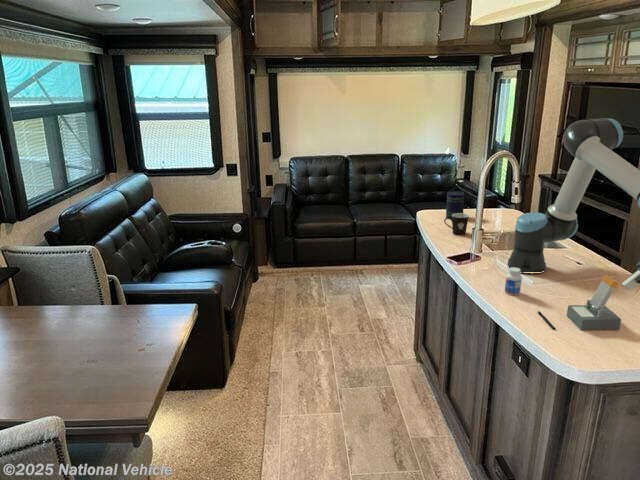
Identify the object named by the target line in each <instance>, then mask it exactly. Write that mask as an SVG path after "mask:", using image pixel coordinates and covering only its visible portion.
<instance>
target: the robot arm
mask: <svg viewBox="0 0 640 480" xmlns="http://www.w3.org/2000/svg"><path fill="white" fill-rule="evenodd" d="M623 138H624V131H623V128H622V125H621V123H620V122H619V121H617V120H616V119H613V118H605V117H601V118H594V119H593V118H592V119H581V120H576V121H574V122H573V123H571V124H569V126H568V127H567V128H566V129H565V131H564V133H563V136H562V141H563V145H564V147H565V150H567V152H568V153H569V154H571V155H572V156H573V157H574V159H573V160H572V164H571V165H570V168H569V170H568V172H567V174H566V177H565V179H564V180H563V181H564V182H563V183H562V185H561V187H560V189H559V190H560V191H559V192H558V195H557V196H556V199H555V201H554V203H553V204H550V205H549V206H548V207H547V210H546V212H545V213H542V212H537V211H536V212H526V213H523V214H521V215H519V216H517V218H516V223H515V228H514V229H515V232H514V242H513V250H512V251H511V253H510V256H509V258H508V260H507V265H508V266H509V268H512V267H514V268H519V269H520V270H521V272H542V271H544V270H545V271H546V269H547V263H546V261H545V260H546V259H545V255H544V249H545V244H547V243H553V242H558V241H564V240H567V239H570V238H572V237H573V236H574V235H575V234H576V233H577V231H578V228H579V223H578V214H577V213H576V211H577V209H578V207H579V204H580V203H581V201H582V199H583V197H584V195H585V192H586V190H587V188H588V187H589V184H590V182H591V181H592V178H593V176H594V174H595V172H596V170H597V171H598V172H599V173H601V174H602V175H603V176H605V177H606V178H608V179H609V180H610V181H611V182H613V183H614V184H615V185H616V186H617V187H619V188H621V189H622V190H623V191H624V192H626V193H627V194H628V195H629V196H631V197H632V198H634V199H635V200H636V201H637V207H638V208H639V209H640V169H639V168H637V167H635V166H634V165H633V164H631V163H630V162H628V161H627V160H626V159H624V158H623V157H622V156H620V155H619V154H617V153H616V152H614V151H613V150H614V149H616V148H618V147H619V145H621V143H622V141H623ZM508 266H507V267H508ZM509 268H508V269H509ZM636 268H637V270H636V271H635V272H634V273H632V274H630V276H629V277H627V278H626V279H625V280H624V281H623V282H622V283H621V285H622V286H623V287H624V288H625V289H626V290H627V291H629V292H630V291H631V290H632V289H634V288H635V287H636V286H638V285H640V260H639V261H638V262H637V263H636Z"/></svg>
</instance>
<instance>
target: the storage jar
mask: <svg viewBox="0 0 640 480" xmlns="http://www.w3.org/2000/svg"><path fill="white" fill-rule="evenodd" d="M464 203H465V192H463V191H458V190H455V191H452V190H451V191H447V194H446V207H445V208H446V209H445V219H446V218H451V219H452V214H456V213H463V214H464Z"/></svg>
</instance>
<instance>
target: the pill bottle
mask: <svg viewBox="0 0 640 480" xmlns="http://www.w3.org/2000/svg"><path fill="white" fill-rule="evenodd" d="M520 272H521V270H520V269H519V268H514V267H512V268H508V272H507V274H506V276H505V285H504V293H505V294H507V295H509V296H519V295H520V293H521V286H522V279H523V278H522V274H521V273H520Z"/></svg>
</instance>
